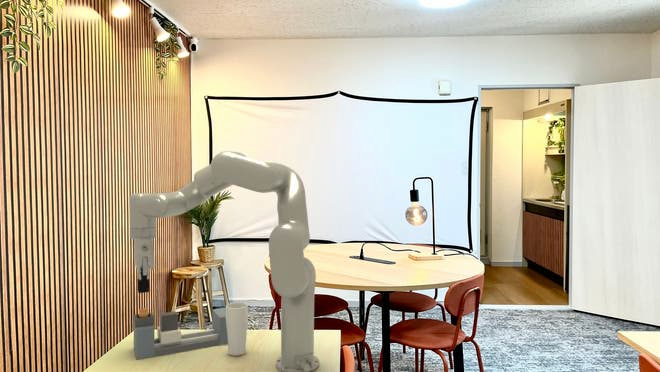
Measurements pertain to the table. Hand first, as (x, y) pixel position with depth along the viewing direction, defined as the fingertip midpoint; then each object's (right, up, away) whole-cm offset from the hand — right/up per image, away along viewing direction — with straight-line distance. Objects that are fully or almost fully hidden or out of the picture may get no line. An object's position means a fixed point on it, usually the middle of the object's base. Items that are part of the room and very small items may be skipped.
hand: (143, 291), depth 140 cm
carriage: (+7, -16, +4) cm, 18 cm away
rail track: (+11, -19, +6) cm, 23 cm away
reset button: (0, -9, 0) cm, 9 cm away
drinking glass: (+29, -19, 0) cm, 35 cm away
